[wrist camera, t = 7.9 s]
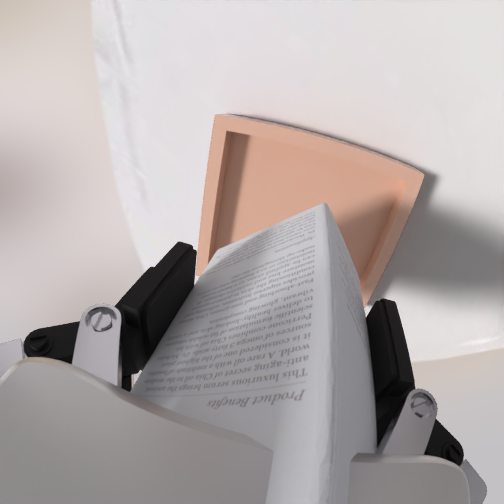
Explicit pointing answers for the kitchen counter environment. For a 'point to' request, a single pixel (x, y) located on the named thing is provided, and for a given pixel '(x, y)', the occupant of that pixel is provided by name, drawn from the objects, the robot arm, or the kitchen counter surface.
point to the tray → (303, 190)
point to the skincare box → (277, 355)
